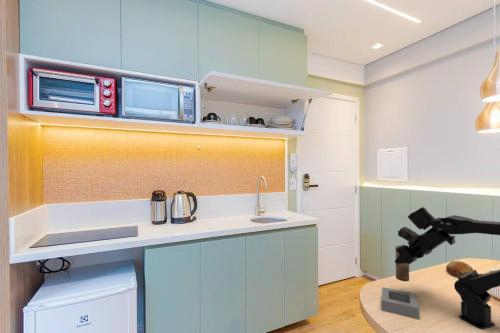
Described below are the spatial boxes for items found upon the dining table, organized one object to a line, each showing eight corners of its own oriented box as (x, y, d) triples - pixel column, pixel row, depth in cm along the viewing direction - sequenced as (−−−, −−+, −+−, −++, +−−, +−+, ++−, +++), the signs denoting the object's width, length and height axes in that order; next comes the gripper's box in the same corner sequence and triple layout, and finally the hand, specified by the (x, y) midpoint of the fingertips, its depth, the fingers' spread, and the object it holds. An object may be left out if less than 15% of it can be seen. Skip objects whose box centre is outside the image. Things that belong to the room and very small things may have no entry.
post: (412, 280, 96) (411, 248, 97) (403, 282, 95) (402, 249, 95) (401, 275, 101) (401, 245, 101) (393, 277, 100) (392, 246, 100)
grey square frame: (415, 303, 91) (415, 293, 91) (419, 319, 81) (419, 308, 82) (382, 295, 96) (382, 286, 96) (381, 310, 87) (381, 300, 87)
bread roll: (472, 282, 115) (470, 264, 118) (478, 281, 107) (475, 261, 110) (445, 277, 120) (444, 260, 123) (449, 276, 112) (447, 257, 115)
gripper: (422, 218, 100) (394, 239, 109) (401, 225, 90) (372, 247, 99) (446, 242, 94) (414, 262, 103) (427, 252, 83) (393, 274, 92)
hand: (398, 261), depth 99 cm, fingers closed on post, 4 cm apart
